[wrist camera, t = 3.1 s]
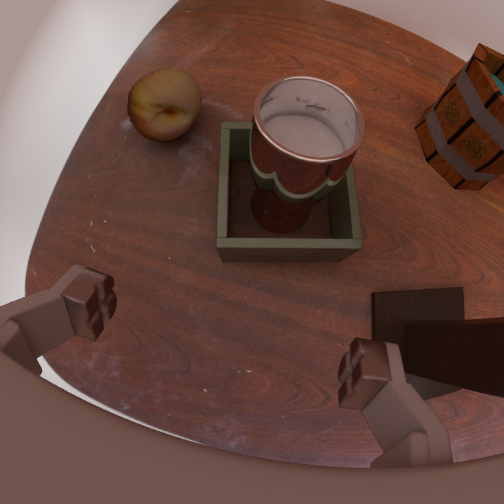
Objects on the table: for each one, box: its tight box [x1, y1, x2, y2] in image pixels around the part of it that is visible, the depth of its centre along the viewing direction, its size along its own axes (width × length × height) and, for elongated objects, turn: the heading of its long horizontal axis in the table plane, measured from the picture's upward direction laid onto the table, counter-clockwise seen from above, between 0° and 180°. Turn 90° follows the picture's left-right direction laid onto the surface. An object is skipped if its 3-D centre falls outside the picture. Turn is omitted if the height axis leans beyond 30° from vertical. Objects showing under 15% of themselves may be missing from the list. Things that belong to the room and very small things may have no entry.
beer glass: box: [248, 75, 365, 233], centre depth 23 cm, size 7×7×15 cm
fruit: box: [127, 69, 202, 142], centre depth 28 cm, size 8×8×8 cm
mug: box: [415, 43, 504, 190], centre depth 26 cm, size 20×14×15 cm
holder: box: [216, 122, 362, 262], centre depth 27 cm, size 12×12×6 cm
